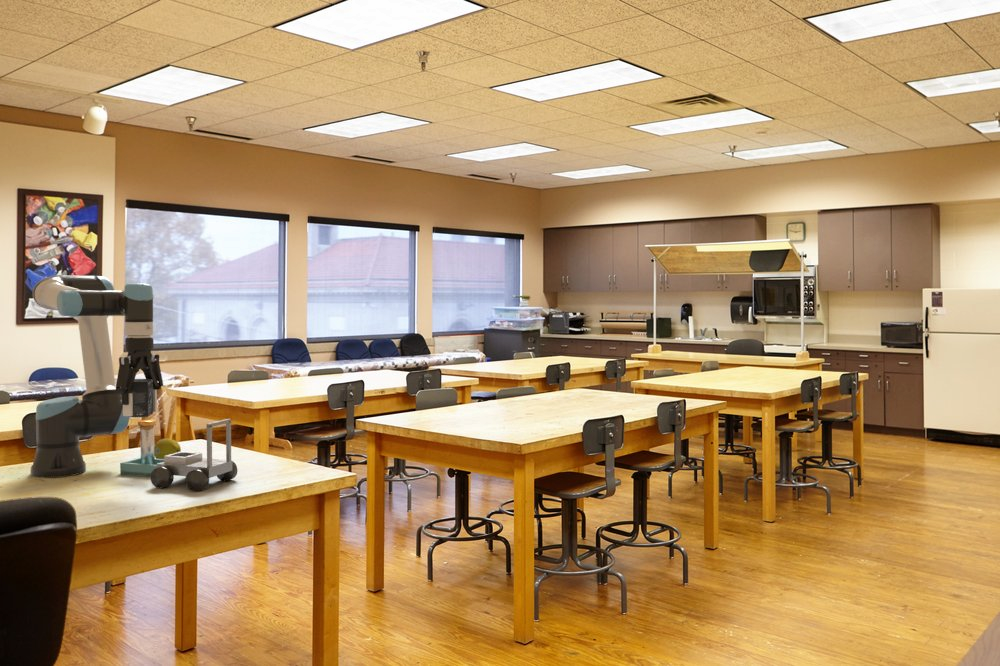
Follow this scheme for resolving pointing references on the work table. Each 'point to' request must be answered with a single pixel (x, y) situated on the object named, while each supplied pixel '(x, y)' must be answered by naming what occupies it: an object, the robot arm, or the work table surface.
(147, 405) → the box
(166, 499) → the work table surface
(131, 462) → the tray
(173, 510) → the work table surface
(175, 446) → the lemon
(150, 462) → the clear tube with cap
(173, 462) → the trolley
